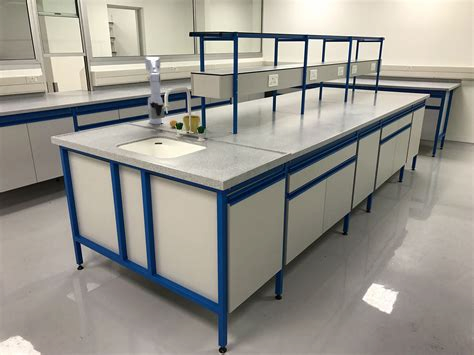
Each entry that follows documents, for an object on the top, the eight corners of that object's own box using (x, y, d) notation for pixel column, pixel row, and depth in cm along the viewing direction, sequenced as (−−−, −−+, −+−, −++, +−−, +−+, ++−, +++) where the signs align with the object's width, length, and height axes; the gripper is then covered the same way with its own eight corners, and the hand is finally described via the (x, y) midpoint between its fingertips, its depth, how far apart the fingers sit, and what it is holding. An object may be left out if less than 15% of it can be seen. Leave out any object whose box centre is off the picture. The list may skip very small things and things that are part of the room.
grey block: (149, 117, 240) (148, 108, 238) (161, 116, 244) (160, 106, 242) (151, 119, 235) (151, 109, 233) (164, 117, 239) (163, 108, 237)
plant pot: (189, 134, 226) (188, 118, 223) (180, 131, 233) (179, 116, 230) (203, 132, 232) (203, 117, 229) (194, 129, 240) (194, 114, 236)
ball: (177, 121, 249) (173, 128, 249) (171, 117, 247) (167, 123, 247) (179, 123, 245) (175, 129, 245) (173, 118, 243) (169, 125, 242)
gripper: (146, 92, 238) (147, 113, 243) (153, 94, 227) (154, 117, 231) (156, 91, 242) (157, 112, 246) (164, 94, 230) (165, 116, 234)
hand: (157, 114), depth 239 cm, fingers closed on grey block, 6 cm apart
